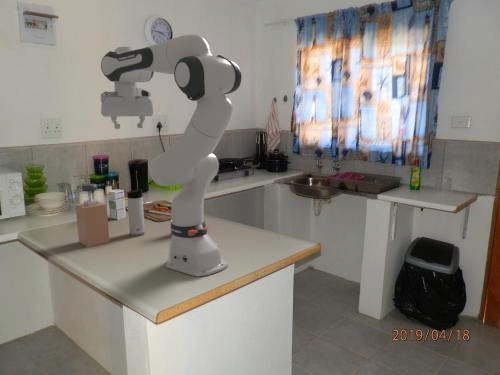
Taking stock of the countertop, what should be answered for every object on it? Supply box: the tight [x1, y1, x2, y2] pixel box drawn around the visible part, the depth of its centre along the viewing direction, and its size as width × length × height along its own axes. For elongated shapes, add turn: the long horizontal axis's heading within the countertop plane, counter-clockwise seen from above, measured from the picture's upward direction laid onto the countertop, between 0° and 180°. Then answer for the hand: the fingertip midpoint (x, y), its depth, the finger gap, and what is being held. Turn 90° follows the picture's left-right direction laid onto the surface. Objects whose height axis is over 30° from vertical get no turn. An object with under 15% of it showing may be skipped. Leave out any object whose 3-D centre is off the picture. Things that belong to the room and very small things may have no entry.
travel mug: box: [126, 189, 146, 237], centre depth 167 cm, size 6×7×20 cm
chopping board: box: [125, 199, 172, 223], centre depth 210 cm, size 45×27×3 cm, turn 44°
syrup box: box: [107, 188, 127, 221], centre depth 195 cm, size 6×6×14 cm
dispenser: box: [75, 198, 111, 248], centre depth 157 cm, size 9×9×18 cm
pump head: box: [81, 183, 98, 202], centre depth 157 cm, size 9×6×12 cm, turn 44°
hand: (129, 128), depth 151 cm, fingers open, 8 cm apart
